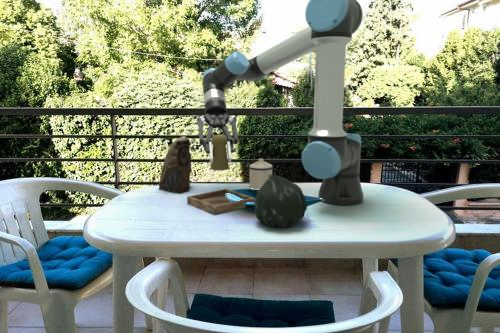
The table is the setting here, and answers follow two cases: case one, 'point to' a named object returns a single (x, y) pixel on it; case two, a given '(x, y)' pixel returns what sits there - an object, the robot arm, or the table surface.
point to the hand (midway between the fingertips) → (220, 160)
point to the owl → (177, 167)
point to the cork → (219, 153)
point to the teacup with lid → (259, 173)
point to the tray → (218, 201)
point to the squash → (280, 203)
